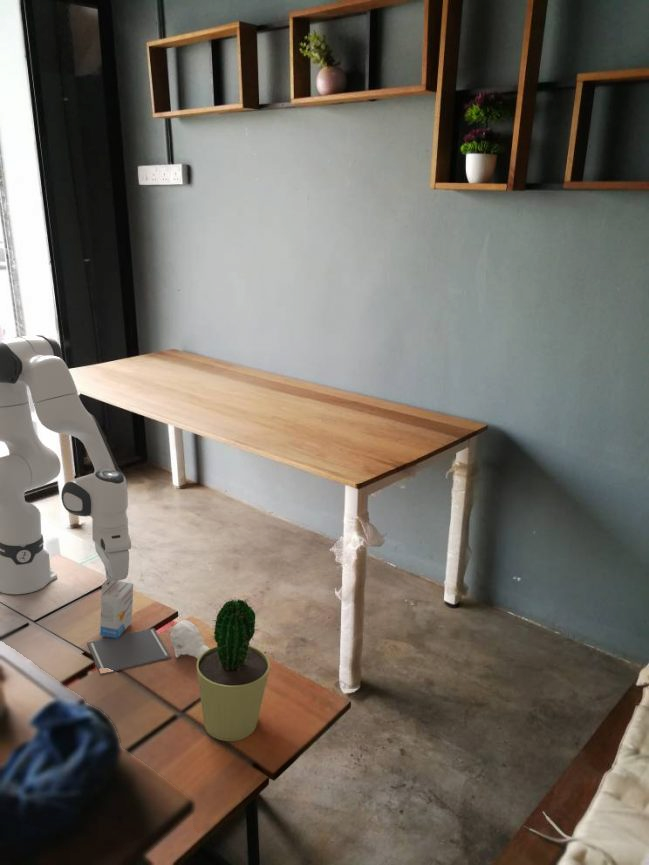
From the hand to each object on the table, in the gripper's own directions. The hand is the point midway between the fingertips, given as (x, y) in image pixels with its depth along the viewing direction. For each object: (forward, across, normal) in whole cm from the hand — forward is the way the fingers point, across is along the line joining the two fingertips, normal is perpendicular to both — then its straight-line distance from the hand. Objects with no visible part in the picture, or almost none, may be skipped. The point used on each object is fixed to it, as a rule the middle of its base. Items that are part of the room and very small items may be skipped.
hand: (110, 580), depth 182 cm
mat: (+11, +16, 0) cm, 20 cm away
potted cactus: (+12, +51, +13) cm, 54 cm away
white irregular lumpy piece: (+12, +25, +14) cm, 31 cm away
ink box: (+11, +6, 0) cm, 13 cm away
